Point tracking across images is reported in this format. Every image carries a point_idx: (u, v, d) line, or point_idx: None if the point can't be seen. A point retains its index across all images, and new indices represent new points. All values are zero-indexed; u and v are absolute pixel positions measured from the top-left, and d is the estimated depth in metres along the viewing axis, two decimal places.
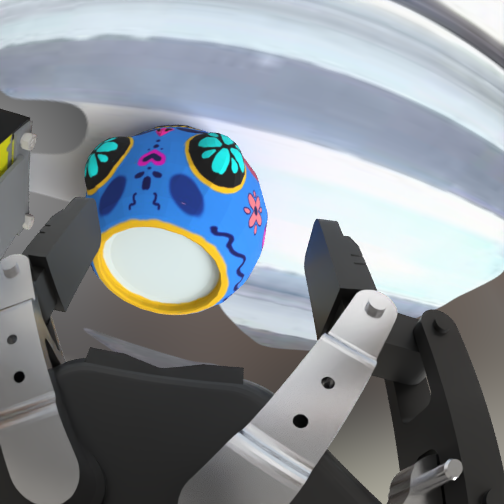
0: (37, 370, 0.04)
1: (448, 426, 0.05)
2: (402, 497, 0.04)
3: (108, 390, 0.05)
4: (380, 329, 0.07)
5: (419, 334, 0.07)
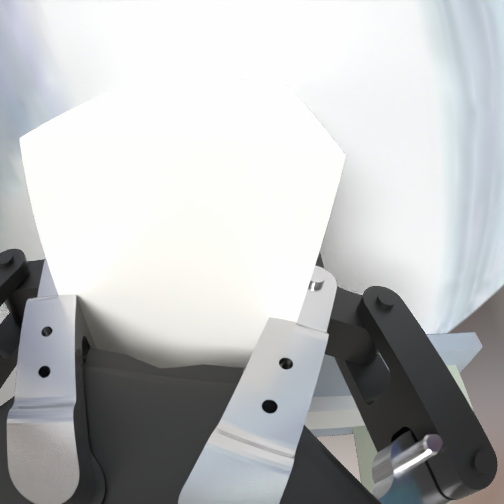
0: (64, 370, 0.04)
1: (416, 402, 0.05)
2: (387, 480, 0.05)
3: (108, 390, 0.05)
4: (315, 301, 0.07)
5: (364, 314, 0.07)
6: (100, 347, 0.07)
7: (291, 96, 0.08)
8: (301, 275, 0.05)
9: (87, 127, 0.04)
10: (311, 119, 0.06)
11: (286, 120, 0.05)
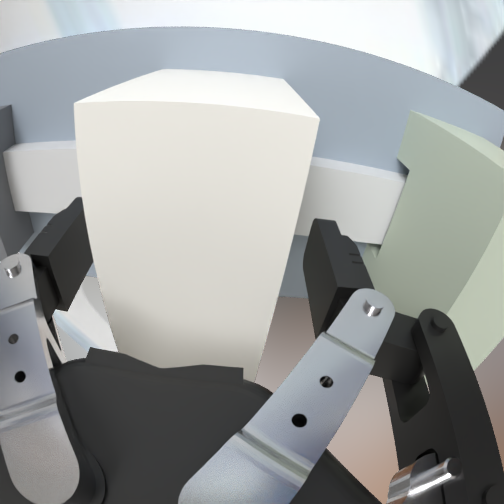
0: (39, 370, 0.04)
1: (447, 425, 0.05)
2: (401, 496, 0.04)
3: (108, 390, 0.05)
4: (378, 328, 0.07)
5: (417, 333, 0.07)
6: (119, 289, 0.08)
7: (285, 85, 0.10)
8: (290, 213, 0.07)
9: (129, 98, 0.06)
10: (298, 99, 0.07)
11: (278, 98, 0.07)
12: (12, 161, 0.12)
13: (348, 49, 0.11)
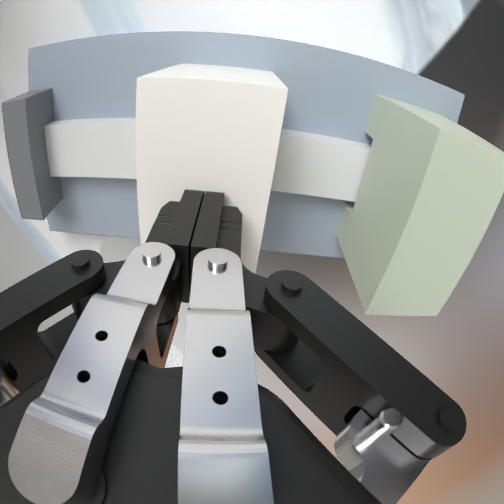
0: (104, 383, 0.04)
1: (358, 382, 0.06)
2: (358, 463, 0.05)
3: None
4: (211, 282, 0.07)
5: (273, 305, 0.07)
6: (153, 209, 0.12)
7: (272, 75, 0.13)
8: (272, 148, 0.11)
9: (172, 76, 0.09)
10: (278, 81, 0.11)
11: (265, 80, 0.10)
12: (52, 133, 0.16)
13: (322, 48, 0.14)
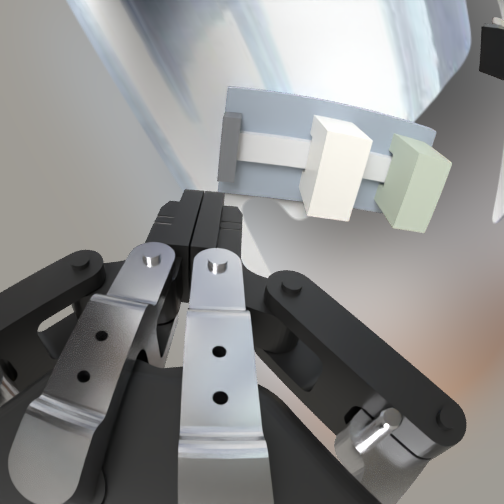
0: (104, 383, 0.04)
1: (358, 382, 0.06)
2: (358, 463, 0.05)
3: None
4: (211, 282, 0.07)
5: (273, 305, 0.07)
6: (322, 177, 0.32)
7: (357, 127, 0.34)
8: (366, 159, 0.31)
9: (337, 132, 0.30)
10: (365, 134, 0.31)
11: (362, 134, 0.31)
12: (244, 138, 0.36)
13: (373, 113, 0.35)
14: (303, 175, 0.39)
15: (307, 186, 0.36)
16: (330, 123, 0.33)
